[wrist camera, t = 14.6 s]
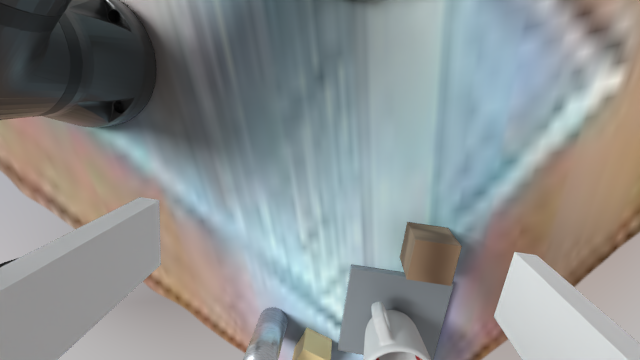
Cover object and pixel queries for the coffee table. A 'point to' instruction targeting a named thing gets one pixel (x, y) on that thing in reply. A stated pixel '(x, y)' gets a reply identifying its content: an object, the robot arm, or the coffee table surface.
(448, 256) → the walnut block
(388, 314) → the cup
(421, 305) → the coaster
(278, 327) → the grey peg
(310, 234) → the coffee table surface
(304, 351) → the ochre block
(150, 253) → the robot arm
